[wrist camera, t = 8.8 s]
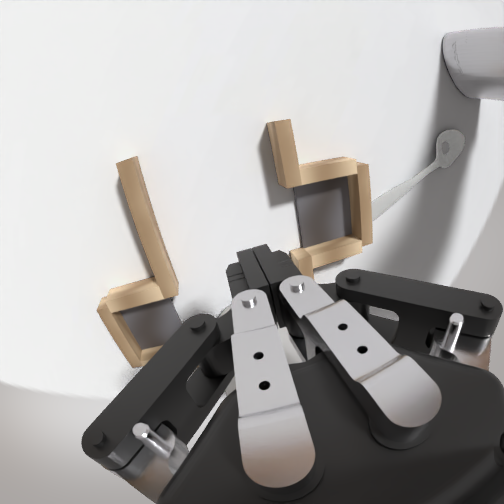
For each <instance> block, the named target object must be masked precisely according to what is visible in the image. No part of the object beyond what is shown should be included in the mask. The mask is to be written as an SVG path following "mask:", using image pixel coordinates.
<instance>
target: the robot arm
mask: <svg viewBox="0 0 504 504" xmlns="http://www.w3.org/2000/svg"><path fill="white" fill-rule="evenodd" d="M443 54H444V59H445V62H446V66H447V68H448V71H449V73H450V75H451V77H452V80H453V81H454V83H455V85H456V86H457V88H458V89H459V90H460V91H461V92H462V93H463V94H464V95H465V96H467V97H469V98H481V99H493V100H501V101H504V27H492V28H480V29H470V30H463V31H456V32H450V33H447V34H446V35H445V36H444V39H443ZM237 257H238V260H239V262H237V263H233V264H230V265H228V268H227V270H226V274H227V278H228V282H229V287H230V291H231V295H232V301H231V309H230V310H229V311H228V312H227V313H225V314H224V315H222V316H221V317H219V318H217V319H215V317H213V316H212V315H209V314H199V315H195V316H193V317H191V318H189V319H188V320H186V321H185V322H184V323H183V324H182V325H181V326H180V328H179V329H178V330H177V331H176V332H175V333H174V334H173V335H172V336H171V337H170V338H169V340H168V341H167V342H166V343H165V344H164V345H163V346H162V347H161V348H160V349H159V350H158V352H157V353H156V354H155V355H154V356H153V357H152V358H151V359H150V360H149V361H148V362H147V364H146V365H145V366H144V367H143V368H142V369H141V370H140V371H139V372H138V373H137V374H136V376H135V377H134V378H133V379H132V380H131V381H130V382H129V383H128V384H127V385H126V387H125V388H124V389H123V390H122V391H121V392H120V393H119V394H118V395H117V396H116V397H115V399H114V400H113V401H112V402H111V403H110V404H109V405H108V406H107V407H106V409H104V411H103V412H102V413H101V414H100V415H99V416H98V417H97V418H96V419H95V421H94V422H93V423H92V424H91V425H90V426H89V427H88V428H87V429H86V431H85V432H84V434H83V437H82V448H83V451H84V452H85V454H86V455H88V456H89V457H90V458H92V459H93V460H95V461H96V462H98V463H99V464H101V465H102V466H103V467H104V468H105V469H107V470H109V471H110V472H112V473H114V474H115V475H117V476H118V477H120V478H122V479H124V480H125V481H127V482H128V483H129V484H130V485H131V486H133V487H134V488H135V489H137V490H138V491H139V492H140V493H142V494H143V495H145V496H146V497H147V498H149V499H150V500H151V501H153V502H154V503H156V504H504V388H503V385H502V384H501V382H500V381H499V379H498V378H497V377H496V376H495V375H494V374H492V373H491V372H489V363H490V352H491V338H492V336H493V334H494V331H495V329H496V327H497V325H498V322H499V319H500V317H501V314H502V311H503V308H502V305H501V303H500V301H499V300H498V299H497V298H495V297H494V296H491V295H489V294H484V293H479V292H474V291H469V290H464V289H458V288H453V287H448V286H443V285H438V284H433V283H428V282H422V281H417V280H412V279H407V278H402V277H396V276H391V275H386V274H381V273H376V272H370V271H365V270H360V269H348V270H345V271H342V272H340V273H339V274H338V275H337V276H336V283H329V284H317V283H316V282H315V281H314V280H313V279H312V278H310V277H308V276H303V275H302V274H301V272H300V271H299V269H298V268H297V267H296V265H295V264H294V263H293V261H292V260H291V259H290V257H289V256H288V255H287V253H284V252H282V251H280V250H278V251H275V252H271V250H270V249H269V247H268V246H267V244H264V245H260V246H257V247H253V248H252V249H251V248H250V249H246V250H243V251H239V252H237ZM369 305H370V306H374V307H378V308H382V309H387V310H391V311H394V312H395V313H396V314H397V315H398V316H399V321H394V320H390V319H386V318H382V317H378V316H374V315H370V314H369ZM277 323H278V325H279V328H283V327H286V328H287V330H288V335H289V340H290V342H291V343H292V345H293V347H294V348H295V350H296V352H297V353H298V355H299V357H300V358H301V360H302V362H301V363H293V364H288V362H287V358H286V355H285V352H284V349H283V345H282V342H281V339H280V335H279V332H278V325H277ZM197 366H199V367H198V368H197ZM196 368H197V370H196V371H195V372H194V374H193V375H192V376H191V377H190V379H189V380H188V378H189V376H190V375H191V374H192V373H193V371H194V370H195V369H196ZM234 376H235V381H236V389H235V390H234V391H232V392H231V393H230V394H229V395H228V396H227V397H226V398H225V399H224V400H223V401H222V403H221V404H220V406H219V407H218V409H217V410H216V412H215V414H214V415H213V417H212V419H211V420H210V421H209V423H208V425H207V426H206V428H205V430H204V431H203V432H202V434H201V435H200V437H199V438H198V440H197V441H196V443H195V445H194V446H193V448H192V449H191V451H190V452H189V451H188V448H187V446H186V445H187V444H188V442H189V441H190V439H191V438H192V437H193V435H194V434H195V433H196V431H197V430H198V428H199V427H200V426H201V424H202V423H203V421H204V420H205V419H206V417H207V416H208V414H209V413H210V411H211V410H212V408H213V407H214V406H215V404H216V403H217V401H218V400H219V398H220V397H221V395H222V394H223V392H224V391H225V389H226V388H227V386H228V385H229V383H230V382H231V380H232V379H233V377H234ZM187 380H188V381H187Z"/></svg>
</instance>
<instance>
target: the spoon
mask: <svg viewBox="0 0 504 504" xmlns="http://www.w3.org/2000/svg"><path fill="white" fill-rule="evenodd" d="M446 141H447V143H448V144H449V151H448V152H447V153H446V155H445V154H444V153H443V151H442V143H444V142H446ZM464 144H465V136H464V135H463V134H462V133H461V132H460V131H458V130H455V129H451V130H446V131H444V132H442V133H440V135H439V136H438V138H437V142H436V159H435V161H434V162H433V163H432V164H431V165H429V166H428V167H427V168H425V169H424V170H423V171H421V172H420V173H419V174H417V175H416V176H414V177H413V178H412V179H410V180H408V181H406V182H404V183H402V184H400V185H399V186H397V187H395V188H393V189H391V190H389V191H388V192H386V193H384V194H382V195H381V196H380V197H378V198H377V199H375V200H374V201H372V202H371V207H372V221H374V220H376V219H377V218H378V217H379V216H380V215H382V214H383V213H384V212H385V211H387V210H388V209H389V208H390V207H391V206H392V205H394V204H395V203H396V202H397V201H398V200H399V199H400V198H402V197H403V196H404V195H405V194H406V193H407V192H408V191H409V190H410V189H412V188H413V187H414V186H415V185H416V184H417V183H418V182H420V181H421V180H422V179H423V178H424V177H425V176H427V175H428V174H429V173H431V172H432V171H434V170H435V169H437V168H438V167H442V168H448V167H449V166H450V165H451V164H452V163H453V162H454V161H455V160H456V158H457V157H458V156H459V155H460V153H461V152H462V150H463V148H464Z"/></svg>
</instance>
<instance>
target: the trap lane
mask: <svg viewBox="0 0 504 504" xmlns="http://www.w3.org/2000/svg"><path fill="white" fill-rule="evenodd" d="M267 127H268V132H269V137H270V142H271V147H272V152H273V157H274V162H275V168H276V173H277V178H278V184H279V185H281V186H283V187H285V188H292V187H294V193H295V199H296V206H297V212H298V219H299V226H300V233H301V240H302V248H298V249H295V250H291V251H290V255H291V260H292V261H293V263H294V264H295V265H296V267H297V268H298V269H299V271H300V272H301V274H302V275H303V276H308V277H310V278H312V279H313V280H314V274H313V269H314V268H317V267H320V266H323V265H326V264H329V263H332V262H335V261H338V260H341V259H344V258H347V257H350V256H353V255H356V254H359V253H362V246H365V245H368V244H371V243H373V242H372V207H371V190H370V177H369V166H368V164H364V163H359V162H356V159H352V158H347V157H339V158H333V159H328V160H322V161H316V162H311V163H306V164H301V165H299V163H298V158H297V152H296V146H295V141H294V135H293V130H292V125H291V120H290V119H287V120H280V121H274V122H269V123H267ZM116 166H117V169H118V173H119V176H120V180H121V183H122V186H123V190H124V193H125V196H126V199H127V202H128V205H129V208H130V211H131V214H132V217H133V220H134V223H135V226H136V229H137V232H138V235H139V237H140V240H141V243H142V245H143V248H144V251H145V253H146V256H147V259H148V261H149V264H150V266H151V269H152V271H153V274H154V277H151V278H147V279H144V280H140V281H137V282H133V283H130V284H127V285H123V286H120V287H116V288H113V289H110V291H109V293H108V295H107V297H103V298H102V299H101V301H100V304H99V306H98V308H97V312H98V314H99V315H100V317H101V319H102V321H103V322H104V324H105V326H106V327H107V329H108V331H109V332H110V334H111V336H112V337H113V339H114V341H115V342H116V344H117V345H118V347H119V348H120V350H121V351H122V353H123V354H124V356H125V357H126V359H127V360H128V362H129V363H130V365H131V366H132V368H134V367H140V366H145V365H146V364H147V362H148V361H149V360H150V359H151V358H152V357H153V356H154V355H155V354H156V353H157V352H158V350H159V349H160V348H161V347H162V346H163V345H164V344H165V343H166V342H167V341H168V340H169V338H170V337H171V336H172V335H173V334H174V333H175V332H176V331H177V330H178V329H179V328H180V326H181V325H182V323H181V321H180V319H179V317H178V314H177V312H176V310H175V308H174V305H173V303H172V301H171V298H170V297H173V296H177V295H178V280H177V278H176V275H175V272H174V270H173V267H172V264H171V261H170V259H169V256H168V253H167V250H166V248H165V245H164V242H163V239H162V236H161V233H160V230H159V227H158V224H157V221H156V218H155V215H154V212H153V209H152V205H151V202H150V199H149V196H148V192H147V189H146V186H145V182H144V179H143V175H142V172H141V168H140V164H139V161H138V157H137V156H136V157H133V158H130V159H127V160H124V161H121V162H119V163H116ZM198 367H199V366H197V368H198ZM225 391H226V390H225ZM225 391H224V392H225Z"/></svg>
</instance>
